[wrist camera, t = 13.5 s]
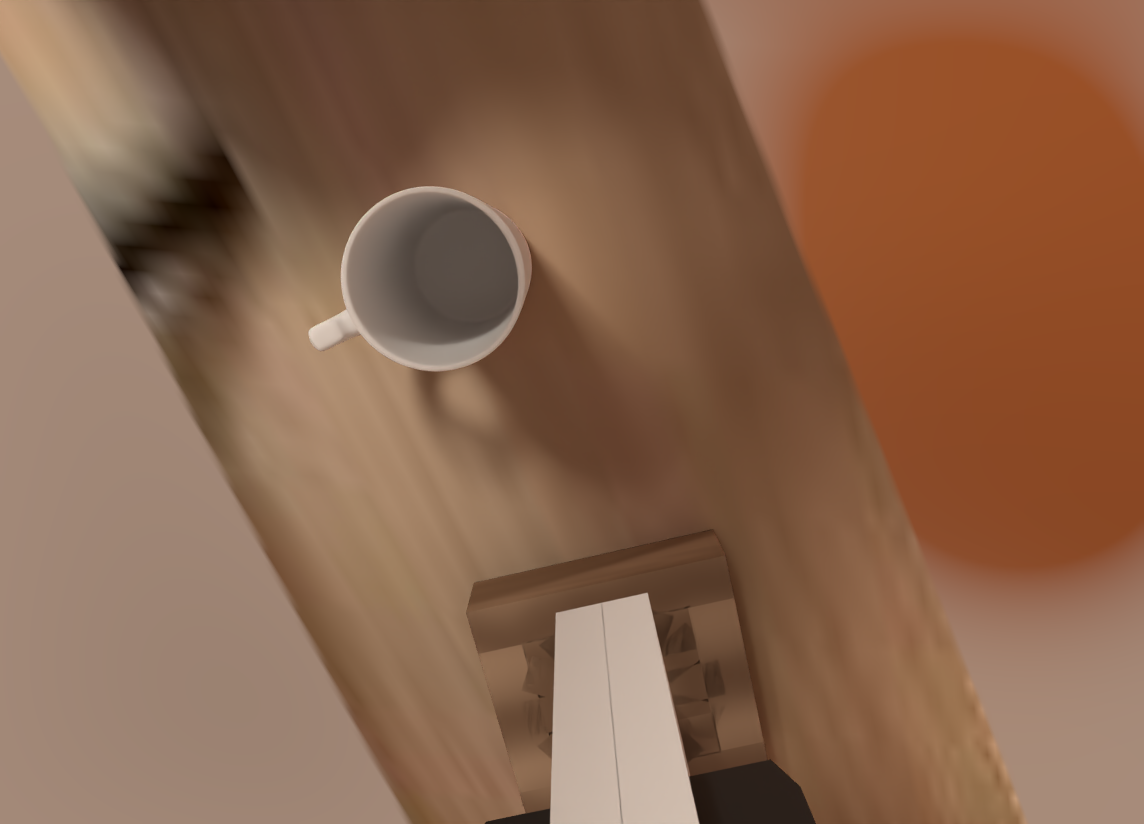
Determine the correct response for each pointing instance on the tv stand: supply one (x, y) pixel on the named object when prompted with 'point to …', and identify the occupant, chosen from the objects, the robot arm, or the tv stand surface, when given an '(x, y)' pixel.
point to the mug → (430, 280)
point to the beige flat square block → (686, 636)
